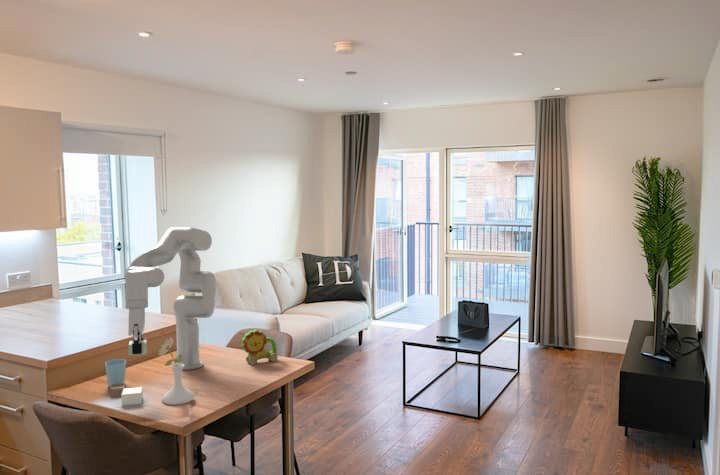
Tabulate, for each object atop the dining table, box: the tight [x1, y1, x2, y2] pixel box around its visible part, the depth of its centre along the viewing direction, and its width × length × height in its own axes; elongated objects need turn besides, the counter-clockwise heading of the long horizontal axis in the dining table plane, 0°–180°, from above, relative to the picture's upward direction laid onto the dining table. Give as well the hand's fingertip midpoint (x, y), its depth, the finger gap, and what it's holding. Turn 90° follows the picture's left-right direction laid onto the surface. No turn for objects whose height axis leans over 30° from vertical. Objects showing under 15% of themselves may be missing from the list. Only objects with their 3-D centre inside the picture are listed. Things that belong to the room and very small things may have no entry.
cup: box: [104, 358, 127, 388], centre depth 222 cm, size 8×8×10 cm
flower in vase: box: [157, 336, 195, 406], centre depth 206 cm, size 13×11×25 cm
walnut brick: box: [109, 382, 127, 397], centre depth 213 cm, size 5×5×4 cm
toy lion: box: [241, 329, 278, 366], centre depth 256 cm, size 16×5×15 cm, turn 120°
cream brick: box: [120, 386, 144, 405], centre depth 205 cm, size 6×6×4 cm
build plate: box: [115, 394, 149, 409], centre depth 206 cm, size 10×10×1 cm
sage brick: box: [128, 339, 148, 356], centre depth 209 cm, size 6×6×4 cm
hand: (138, 350), depth 209 cm, fingers closed on sage brick, 6 cm apart
